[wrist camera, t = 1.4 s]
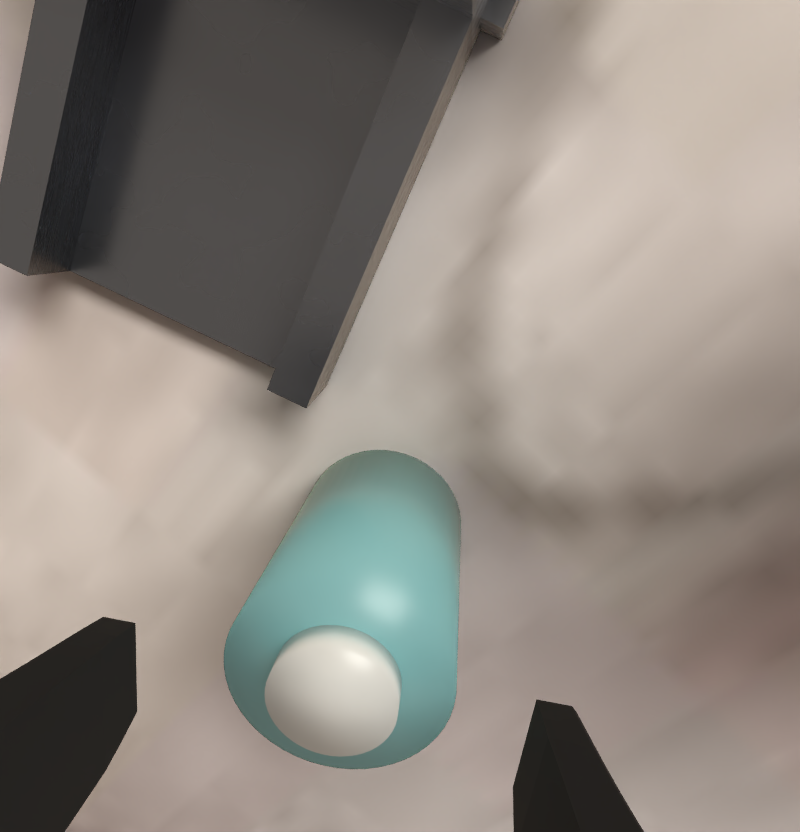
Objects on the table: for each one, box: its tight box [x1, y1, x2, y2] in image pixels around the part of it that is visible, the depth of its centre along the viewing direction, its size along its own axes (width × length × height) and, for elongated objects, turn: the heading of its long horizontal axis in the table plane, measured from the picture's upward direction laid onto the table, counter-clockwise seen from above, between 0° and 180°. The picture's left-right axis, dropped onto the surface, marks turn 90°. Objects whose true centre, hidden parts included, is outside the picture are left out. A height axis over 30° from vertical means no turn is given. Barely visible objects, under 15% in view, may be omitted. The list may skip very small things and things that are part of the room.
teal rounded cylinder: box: [224, 450, 461, 769], centre depth 13 cm, size 4×4×7 cm
